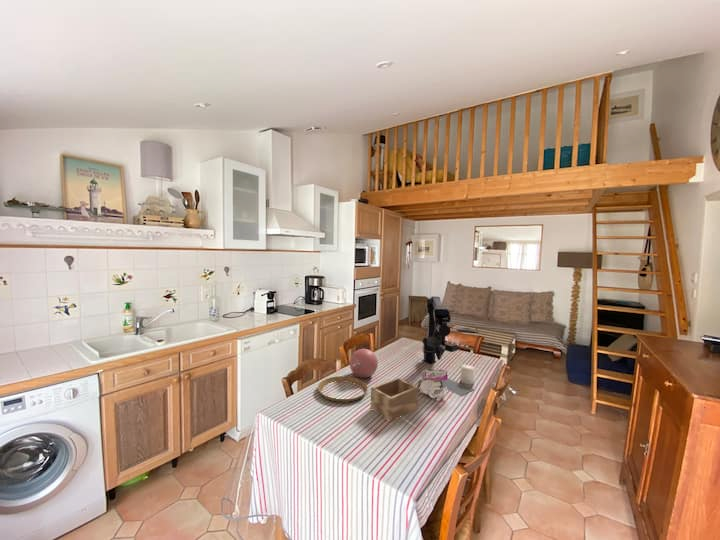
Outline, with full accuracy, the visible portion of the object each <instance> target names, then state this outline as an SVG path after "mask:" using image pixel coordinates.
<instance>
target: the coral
mask: <svg viewBox="0 0 720 540" xmlns="http://www.w3.org/2000/svg"><path fill="white" fill-rule="evenodd" d="M420 381H421V382H420V386H419V387H418V390H419V391H420V393H422V394H425V395H428V396H429V397H430V398H431V399H435V401H438V402H440V400H441V398H442V397H444V398H445V397H447V391H448V390H447V387H445V388H443V387H441V386H440V385H441V383H440V382H437V381H433V380H425V381H424V380H422V379H420ZM444 392H445V393H444Z"/></svg>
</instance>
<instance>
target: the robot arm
mask: <svg viewBox="0 0 720 540" xmlns="http://www.w3.org/2000/svg"><path fill="white" fill-rule="evenodd" d="M441 301H442V300H441V297H440V296H431V297H430V298H428V299H426V301H425V308H426V312H427V313H428V320H427V336H426V337H423V338H422V354H423V359H422V362H423V363H426V364H429V365H433V364H434V363H437V361H440V360H441V358H442V357H443V355H444V353H445V351H446V352H450V353H454V352H456V351H458V350H459V347H458V344H455V343H451V342H450V343H448V342H447V340H446V338H447V337H448V336H449V335H450V334H451V327H449V325H448V323H450V322H451V313H450V310H449V309H448V308H447V306H444V305H443V303H442V302H441ZM436 358H437V361H436Z"/></svg>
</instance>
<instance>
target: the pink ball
mask: <svg viewBox="0 0 720 540" xmlns="http://www.w3.org/2000/svg"><path fill="white" fill-rule="evenodd" d="M378 363H379V362H378V357H377V356H376V354H375V353H374V352H373V351H372V350H370V349H367V348H359V349H357V350H355V351H354V352H353V353H352V354H351V356H350V359H349V368H350V370H351V372H352V374H353V375H355V376H356V377H358V378H361V379H365V378H366V379H367V378H369V377H371V376H373V375H374V374H375V373H376V371H377V370H378Z"/></svg>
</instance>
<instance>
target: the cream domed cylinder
mask: <svg viewBox="0 0 720 540" xmlns="http://www.w3.org/2000/svg"><path fill="white" fill-rule="evenodd" d="M475 370H476V367H474V366H472V365H470V364H462V365H461V366H460V377H459V378H460V379H459V381H460V382H461V384H462V383H463V384H464V385H474V384H475Z"/></svg>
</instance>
